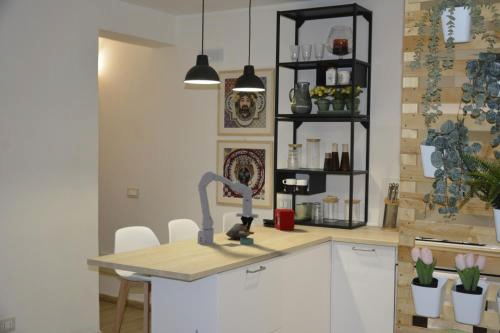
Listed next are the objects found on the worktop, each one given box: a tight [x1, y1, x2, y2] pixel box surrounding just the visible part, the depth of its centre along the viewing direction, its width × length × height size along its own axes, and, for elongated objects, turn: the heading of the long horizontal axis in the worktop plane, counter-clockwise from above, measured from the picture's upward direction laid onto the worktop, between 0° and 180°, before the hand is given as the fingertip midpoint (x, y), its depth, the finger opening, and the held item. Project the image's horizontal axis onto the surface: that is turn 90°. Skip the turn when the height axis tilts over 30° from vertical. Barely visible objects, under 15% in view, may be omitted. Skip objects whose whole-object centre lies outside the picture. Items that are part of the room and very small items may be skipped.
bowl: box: [239, 237, 254, 246], centre depth 375 cm, size 8×8×4 cm
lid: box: [239, 225, 255, 235], centre depth 374 cm, size 9×9×5 cm
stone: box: [225, 223, 251, 241], centre depth 395 cm, size 18×10×15 cm
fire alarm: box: [274, 208, 295, 232], centre depth 451 cm, size 16×11×15 cm
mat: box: [222, 243, 242, 248], centre depth 369 cm, size 10×10×1 cm
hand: (246, 229), depth 375 cm, fingers closed on lid
